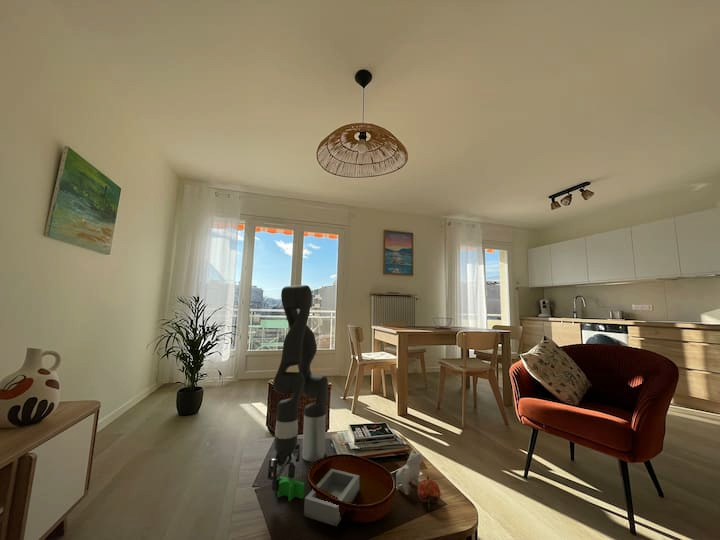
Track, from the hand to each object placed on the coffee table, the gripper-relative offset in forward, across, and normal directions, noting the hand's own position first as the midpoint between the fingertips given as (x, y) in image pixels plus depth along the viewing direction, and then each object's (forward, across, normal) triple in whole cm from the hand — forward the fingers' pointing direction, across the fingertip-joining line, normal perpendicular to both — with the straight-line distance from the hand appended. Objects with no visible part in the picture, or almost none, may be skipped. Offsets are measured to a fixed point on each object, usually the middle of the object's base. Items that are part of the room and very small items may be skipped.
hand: (283, 484), depth 99 cm
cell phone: (+4, -29, +33) cm, 44 cm away
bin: (+4, -5, +16) cm, 18 cm away
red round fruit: (+4, -17, +45) cm, 49 cm away
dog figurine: (+4, -24, +37) cm, 44 cm away
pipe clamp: (+5, -2, 0) cm, 5 cm away
